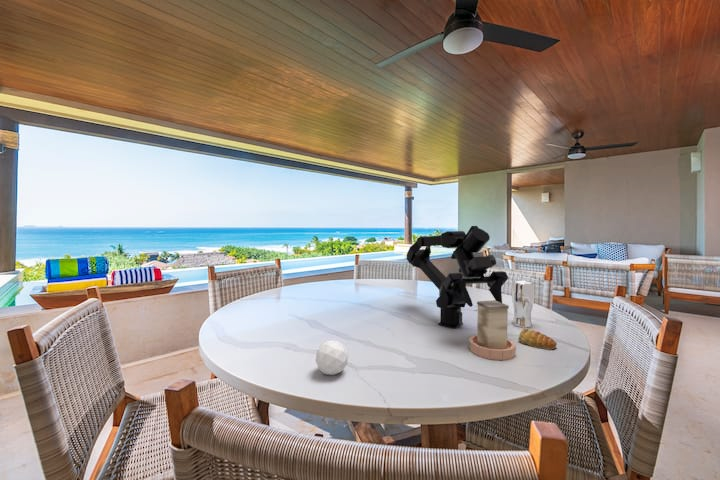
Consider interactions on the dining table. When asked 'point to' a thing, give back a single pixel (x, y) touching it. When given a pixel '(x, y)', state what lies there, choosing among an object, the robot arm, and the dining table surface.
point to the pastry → (536, 339)
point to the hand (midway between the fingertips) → (486, 305)
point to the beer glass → (522, 303)
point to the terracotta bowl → (492, 350)
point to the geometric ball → (331, 357)
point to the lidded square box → (492, 324)
